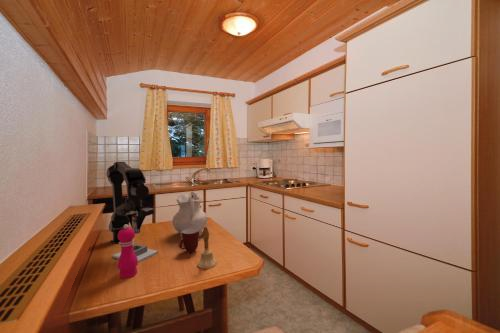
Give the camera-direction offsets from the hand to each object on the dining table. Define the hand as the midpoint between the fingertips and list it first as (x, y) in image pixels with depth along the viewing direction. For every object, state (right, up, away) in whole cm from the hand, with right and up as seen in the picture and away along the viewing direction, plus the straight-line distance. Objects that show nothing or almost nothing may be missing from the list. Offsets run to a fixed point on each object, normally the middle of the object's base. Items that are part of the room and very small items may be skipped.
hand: (136, 228), depth 111 cm
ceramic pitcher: (+20, -11, +25) cm, 34 cm away
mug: (+25, -12, +2) cm, 27 cm away
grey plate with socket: (0, -12, 0) cm, 12 cm away
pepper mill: (+6, -13, -18) cm, 23 cm away
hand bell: (+35, -12, -10) cm, 39 cm away
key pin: (0, -2, 0) cm, 2 cm away
